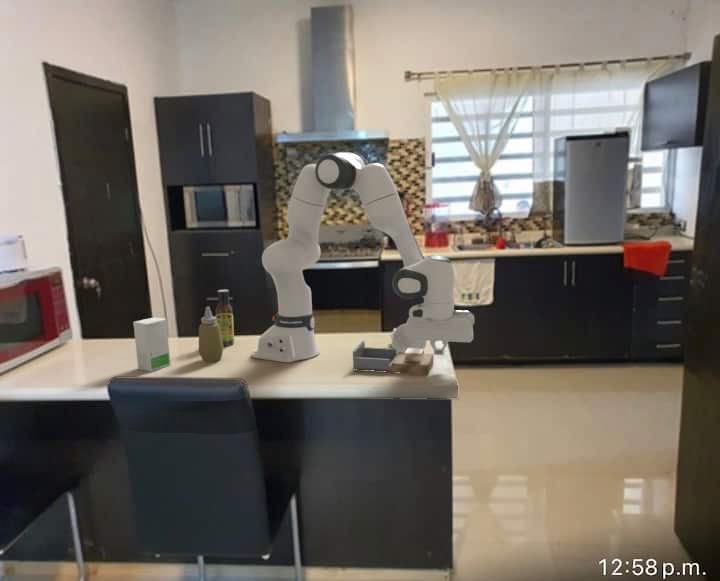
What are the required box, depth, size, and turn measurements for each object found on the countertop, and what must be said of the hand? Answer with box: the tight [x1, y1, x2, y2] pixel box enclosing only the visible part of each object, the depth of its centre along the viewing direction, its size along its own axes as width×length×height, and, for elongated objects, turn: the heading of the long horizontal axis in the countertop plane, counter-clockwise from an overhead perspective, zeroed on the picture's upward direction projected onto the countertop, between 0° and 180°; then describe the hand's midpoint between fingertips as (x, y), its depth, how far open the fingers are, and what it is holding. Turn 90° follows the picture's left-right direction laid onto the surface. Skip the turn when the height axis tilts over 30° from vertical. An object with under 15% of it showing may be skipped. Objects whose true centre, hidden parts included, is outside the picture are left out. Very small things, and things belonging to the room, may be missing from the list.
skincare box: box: [132, 316, 172, 373], centre depth 180 cm, size 8×7×16 cm
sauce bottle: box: [214, 288, 235, 347], centre depth 202 cm, size 6×6×20 cm
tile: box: [405, 348, 425, 362], centre depth 173 cm, size 5×5×2 cm
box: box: [352, 340, 397, 373], centre depth 176 cm, size 12×11×6 cm
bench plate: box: [392, 352, 434, 376], centre depth 173 cm, size 11×11×3 cm
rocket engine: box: [389, 323, 427, 354], centre depth 192 cm, size 12×12×18 cm
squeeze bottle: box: [198, 306, 225, 363], centre depth 185 cm, size 8×8×18 cm
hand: (439, 354), depth 170 cm, fingers closed
